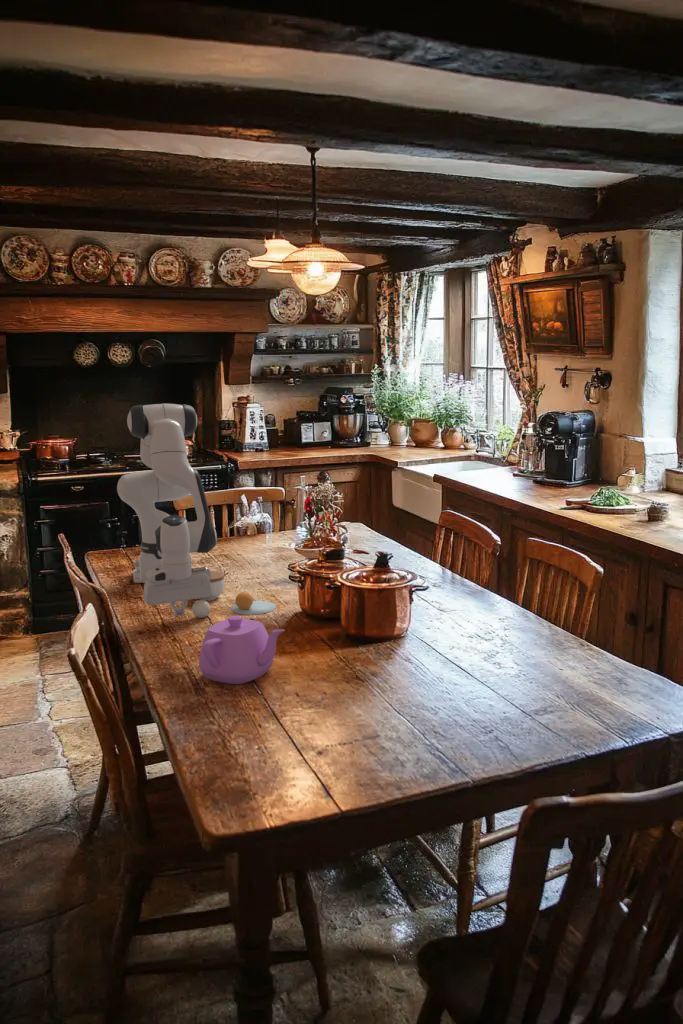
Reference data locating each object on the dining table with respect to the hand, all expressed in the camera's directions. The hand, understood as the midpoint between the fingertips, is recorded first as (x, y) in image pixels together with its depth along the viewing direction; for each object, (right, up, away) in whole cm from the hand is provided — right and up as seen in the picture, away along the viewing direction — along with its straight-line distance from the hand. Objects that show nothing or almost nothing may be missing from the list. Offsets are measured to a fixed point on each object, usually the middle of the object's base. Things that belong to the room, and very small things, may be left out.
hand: (179, 614), depth 260 cm
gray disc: (+21, +1, +11) cm, 24 cm away
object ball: (+19, +3, +9) cm, 21 cm away
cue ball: (+6, +2, +2) cm, 7 cm away
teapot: (+24, -10, -44) cm, 51 cm away
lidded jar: (+5, +3, +23) cm, 24 cm away
